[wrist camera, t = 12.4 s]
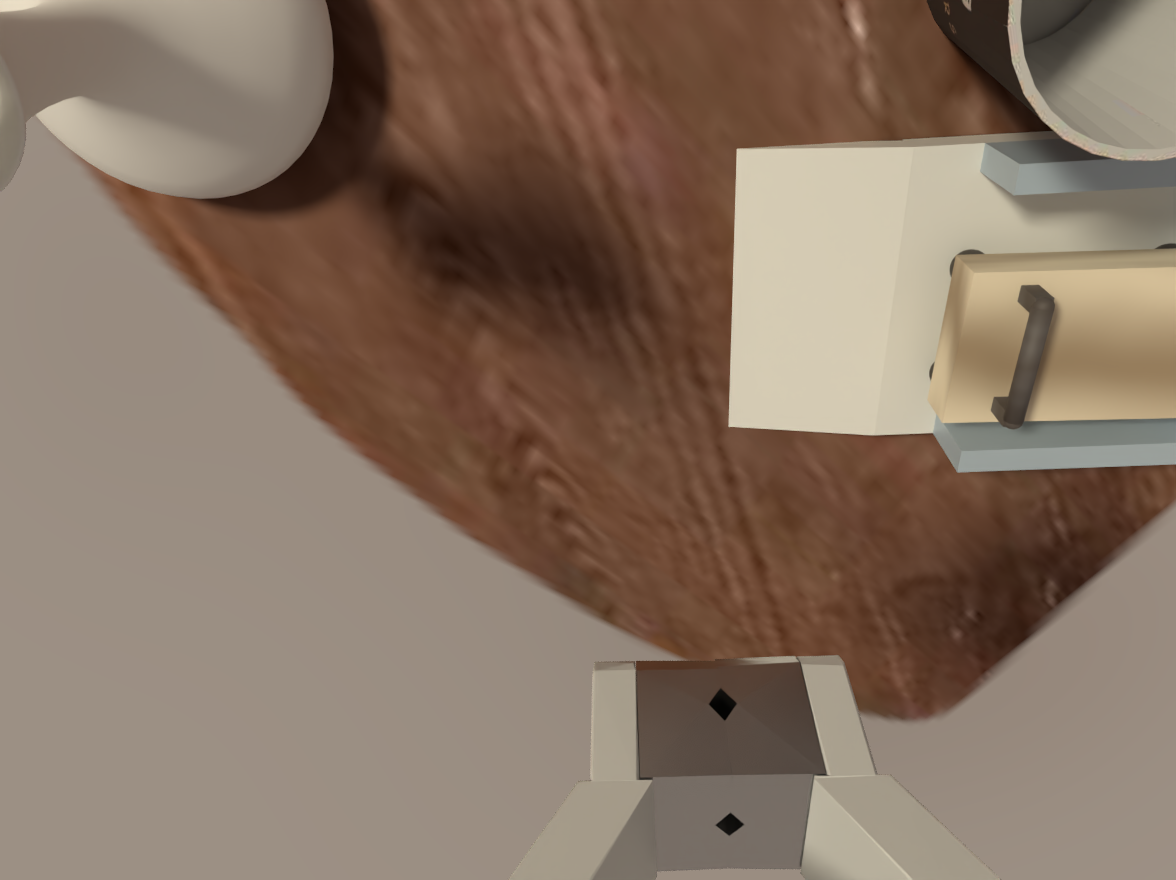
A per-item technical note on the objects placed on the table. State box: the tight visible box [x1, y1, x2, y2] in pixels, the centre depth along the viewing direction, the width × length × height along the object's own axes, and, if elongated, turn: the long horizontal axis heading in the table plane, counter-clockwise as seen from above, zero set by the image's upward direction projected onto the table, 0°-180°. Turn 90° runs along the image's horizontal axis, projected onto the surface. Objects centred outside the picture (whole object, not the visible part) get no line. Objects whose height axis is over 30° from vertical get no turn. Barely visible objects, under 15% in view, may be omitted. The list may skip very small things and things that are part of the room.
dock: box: [729, 131, 1176, 472], centre depth 32 cm, size 12×19×5 cm, turn 94°
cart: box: [927, 243, 1176, 429], centre depth 31 cm, size 6×9×5 cm, turn 92°
